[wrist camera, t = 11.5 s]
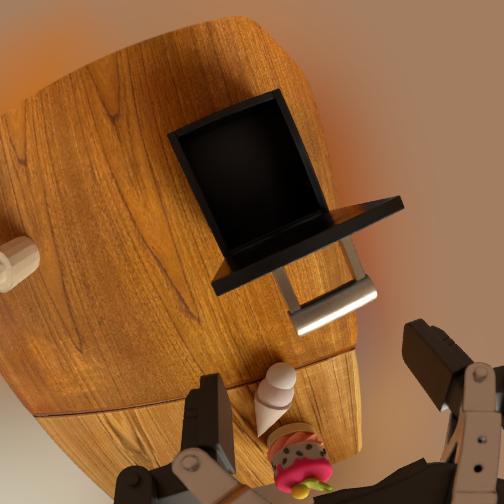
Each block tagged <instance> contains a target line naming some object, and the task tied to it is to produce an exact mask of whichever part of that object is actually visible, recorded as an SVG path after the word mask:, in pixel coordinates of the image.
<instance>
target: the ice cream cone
mask: <svg viewBox="0 0 504 504" xmlns="http://www.w3.org/2000/svg"><path fill="white" fill-rule="evenodd" d="M295 382H296V372H295V370H294V368H293V367H292V366H291V365H289V364H287V363H283V362H279V363H276V364H274V365H272V366H271V367H270V368H269V369H268V371H267V373H266V378H264V379H263V380H262V381H261V383H260V384H259V387H258V391H256V392H255V393H254V401H255V412H256V422H257V433H258V438H259V437H260V436H261V435H262V434H263V433H264V432H265V431H266V430H267V429H268V428H269V427H271V426H272V425H273V424H274V423H275V422H276V421H277V420H278V419H279V418H280V417H281V416H282V415H283V414H284V413H285V412H286V411H287V410H288V409H289V408H290V407H291V405H292V403H291V400H292V398H293V395H294V388H293V385H294V384H295Z"/></svg>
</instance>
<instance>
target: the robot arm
mask: <svg viewBox="0 0 504 504" xmlns="http://www.w3.org/2000/svg"><path fill="white" fill-rule="evenodd" d="M402 356H403V360H404V362H405V364H406V365H407V366H408V368H409V369H410V370H411V372H412V373H413V374H414V376H415V377H416V379H417V380H418V381H419V383H420V384H421V386H422V387H423V388H424V390H425V391H426V393H427V394H428V395H429V397H430V398H431V400H432V401H433V403H434V404H435V405H436V407H437V408H438V410H439V411H440V412H441V411H443V410H445V409H447V408H449V409H450V410H451V413H450V417H449V423H448V430H447V435H446V441H445V446H444V450H443V454H442V457H441V459H440V462H433V463H426V461H425V459H424V458H422V459H420V460H418V461H416V462H413V463H411V464H409V465H407V466H404V467H402V468H400V469H398V470H397V471H395V472H394V473H392V474H391V475H389V476H388V477H386V478H385V479H384V480H382V481H380V482H379V483H377V484H376V485H373V486H368V487H360V488H351V489H342V490H338V491H335V492H331V493H328V494H324V495H320V496H316V497H313V500H314V504H504V480H503V479H500V478H497V474H498V467H499V457H500V443H501V426H502V428H503V429H504V366H500V367H496V368H492V367H491V366H490V365H488V364H486V363H482V362H476V363H474V362H473V361H472V360H471V358H469V357H468V355H467V354H466V353H465V352H464V351H463V350H462V349H461V348H460V347H459V346H458V345H457V344H455V342H454V341H453V340H452V339H450V337H449V336H448V335H447V334H446V333H445V332H444V331H443V330H441V329H439V328H437V327H435V326H431V327H430V326H429V325H427V323H426V322H425V321H424V320H423V319H417V320H415V321H413V322H409V323H406V324H405V326H404V333H403V344H402ZM184 410H185V411H184V419H183V429H182V441H181V450H180V452H179V453H178V454H177V455H176V456H175V457H174V458H173V461H172V462H171V463H169V464H168V465H165V466H162V467H159V468H156V469H153V470H150V471H148V470H147V469H146V468H144V467H142V466H136V465H135V466H130V467H127V468H125V469H124V470H122V471H121V472H120V474H119V475H118V477H117V481H116V489H115V497H114V504H272V503H270V502H269V501H267V500H266V499H265V498H263V497H262V496H261V495H260V494H258V493H257V492H256V491H254V490H253V489H252V488H251V487H249V486H248V485H246V484H244V485H243V484H242V483H240V482H239V481H238V480H237V479H235V478H234V477H233V476H232V475H231V474H236V468H235V455H234V440H233V425H232V410H231V404H230V400H229V396H228V394H227V391H226V389H225V386H224V384H223V381H222V378H221V376H220V374H219V373H214V374H209V375H203V376H201V378H200V388H199V389H192V390H191V391H190V392H189V394H188V396H187V397H186V399H185V407H184Z"/></svg>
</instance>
